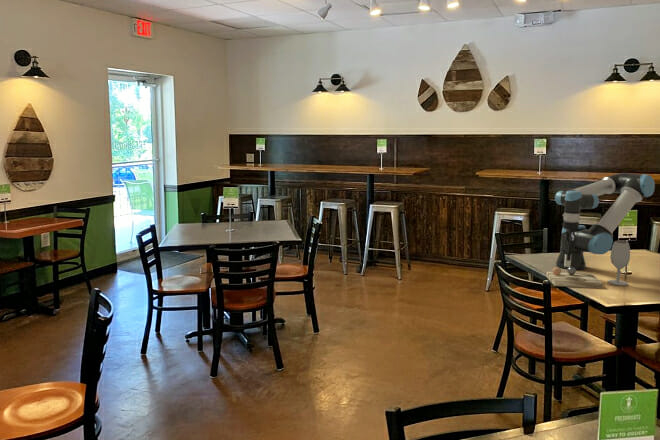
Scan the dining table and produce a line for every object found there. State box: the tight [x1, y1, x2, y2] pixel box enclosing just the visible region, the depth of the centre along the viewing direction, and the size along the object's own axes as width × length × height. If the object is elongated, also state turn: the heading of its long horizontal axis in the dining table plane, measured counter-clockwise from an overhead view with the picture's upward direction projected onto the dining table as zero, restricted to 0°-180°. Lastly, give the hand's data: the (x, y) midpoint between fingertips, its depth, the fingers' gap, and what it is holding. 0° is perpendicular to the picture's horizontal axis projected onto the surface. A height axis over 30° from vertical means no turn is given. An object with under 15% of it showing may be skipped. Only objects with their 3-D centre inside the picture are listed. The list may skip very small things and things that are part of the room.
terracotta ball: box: [552, 266, 562, 275], centre depth 290 cm, size 4×4×4 cm
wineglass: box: [607, 240, 631, 287], centre depth 283 cm, size 9×9×21 cm
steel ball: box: [566, 267, 577, 275], centre depth 291 cm, size 4×4×4 cm
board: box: [545, 271, 604, 289], centre depth 287 cm, size 18×22×2 cm
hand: (567, 266), depth 299 cm, fingers closed
